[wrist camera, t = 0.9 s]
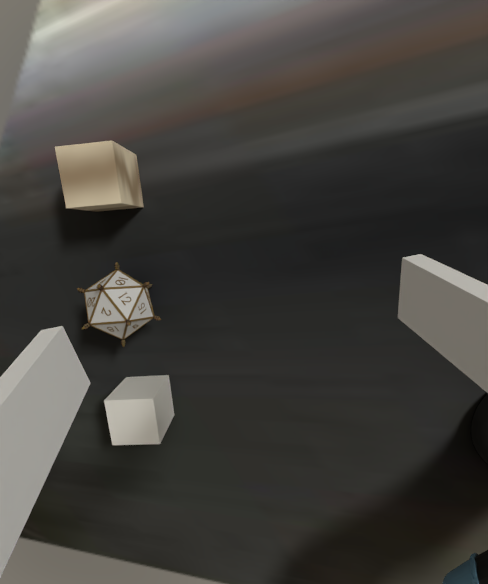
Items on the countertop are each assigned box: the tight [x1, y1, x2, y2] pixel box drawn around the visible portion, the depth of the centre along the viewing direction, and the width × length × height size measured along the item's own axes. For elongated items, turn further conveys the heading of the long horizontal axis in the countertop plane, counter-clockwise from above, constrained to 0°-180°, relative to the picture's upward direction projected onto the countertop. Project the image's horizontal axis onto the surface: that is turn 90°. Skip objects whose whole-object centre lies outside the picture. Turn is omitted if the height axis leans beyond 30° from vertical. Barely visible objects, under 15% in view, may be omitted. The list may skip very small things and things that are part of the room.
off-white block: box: [104, 375, 174, 445], centre depth 39 cm, size 6×6×6 cm
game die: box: [77, 262, 161, 347], centre depth 36 cm, size 9×8×10 cm
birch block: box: [55, 141, 143, 212], centre depth 34 cm, size 6×6×6 cm
